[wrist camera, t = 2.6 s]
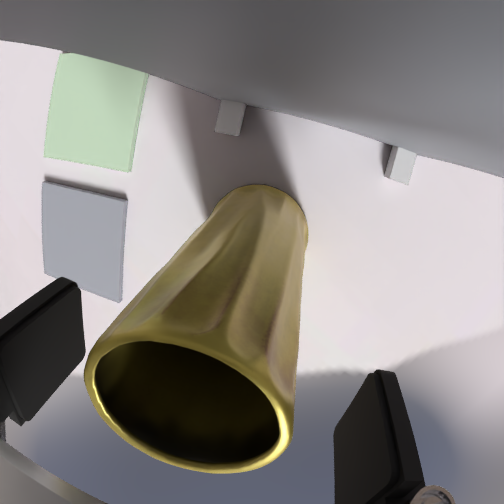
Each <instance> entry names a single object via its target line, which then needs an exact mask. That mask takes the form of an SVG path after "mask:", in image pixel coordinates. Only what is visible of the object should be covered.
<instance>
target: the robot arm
mask: <svg viewBox="0 0 504 504" xmlns="http://www.w3.org/2000/svg"><path fill="white" fill-rule="evenodd" d="M85 352H86V349H85V340H84V329H83V317H82V302H81V290H80V289H79V288H78V285H77V283H76V282H75V281H72V280H70V279H67V278H65V277H59V278H58V279H56V280H55V281H53V282H52V283H50V284H49V285H47V286H46V287H45V288H43V289H42V290H40V291H39V292H37V293H36V294H34V295H33V296H32V297H30V298H29V299H27V300H26V301H25V302H23V303H22V304H20V305H19V306H18V307H16V308H15V309H14V310H12V311H11V312H10V313H8V314H7V315H6V316H4V317H3V318H2V319H0V504H107V503H105V502H103V501H101V500H99V499H97V498H95V497H93V496H91V495H89V494H87V493H85V492H83V491H81V490H79V489H77V488H76V487H74V486H72V485H70V484H68V483H67V482H65V481H63V480H61V479H60V478H58V477H56V476H55V475H53V474H51V473H50V472H48V471H47V470H45V469H43V468H42V467H40V466H39V465H37V464H36V463H34V462H33V461H31V460H30V459H28V458H27V457H25V456H24V455H23V454H21V453H20V452H18V451H17V450H16V449H14V448H13V447H12V446H10V445H9V444H8V443H6V430H5V420H6V418H7V417H8V416H9V417H10V419H12V420H13V421H15V422H16V423H17V424H19V425H20V426H22V425H23V424H24V422H25V421H30V420H31V419H32V418H33V417H34V416H35V414H36V413H37V412H38V411H39V409H40V408H41V407H42V406H43V405H44V404H45V402H46V401H47V400H48V399H49V398H50V397H51V395H52V394H53V393H54V392H55V391H56V390H57V388H58V387H59V386H60V385H61V384H62V383H63V381H64V380H65V379H66V378H67V377H68V376H69V375H70V373H71V372H72V371H73V370H74V369H75V368H76V367H77V365H78V364H79V363H80V362H81V361H82V360H83V358H84V356H85ZM334 468H335V469H334V471H335V472H334V474H335V504H455V501H454V498H453V497H452V495H451V494H450V493H449V492H448V491H447V490H446V489H445V488H442V487H440V486H436V485H430V486H425V482H424V477H423V472H422V468H421V463H420V459H419V455H418V451H417V447H416V443H415V439H414V435H413V431H412V428H411V424H410V420H409V417H408V414H407V410H406V407H405V403H404V400H403V397H402V393H401V390H400V387H399V383H398V380H397V377H396V375H395V373H394V372H390V371H384V370H376V371H375V372H374V373H370V374H368V376H367V378H366V379H365V381H364V383H363V384H362V386H361V388H360V389H359V391H358V393H357V394H356V396H355V398H354V399H353V401H352V402H351V404H350V406H349V407H348V409H347V410H346V412H345V413H344V415H343V416H342V418H341V419H340V421H339V423H338V424H337V426H336V427H335V431H334Z"/></svg>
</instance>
